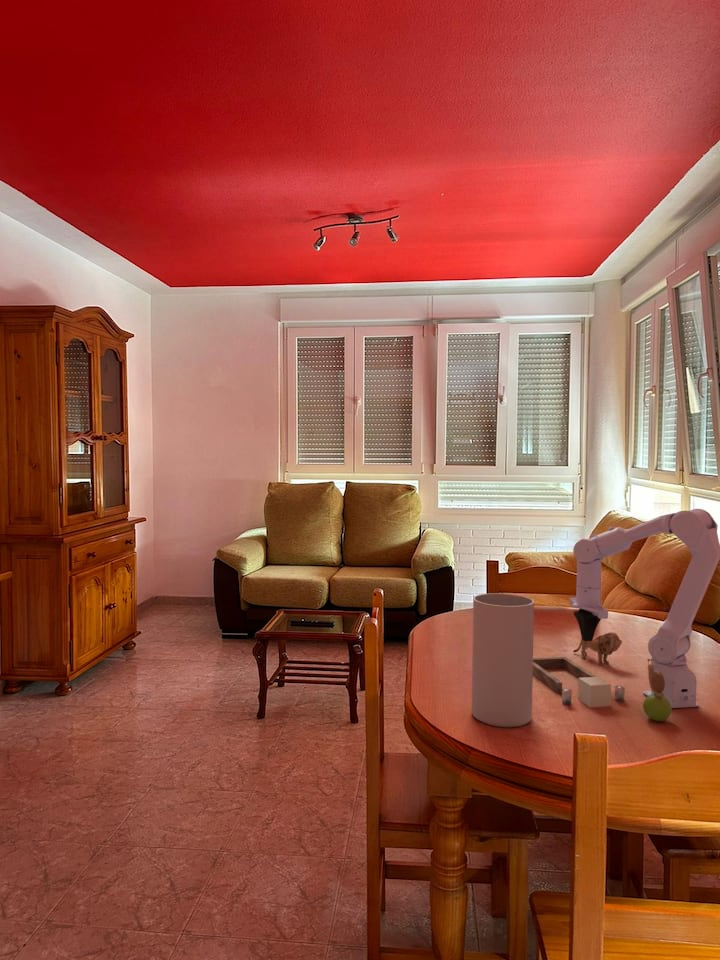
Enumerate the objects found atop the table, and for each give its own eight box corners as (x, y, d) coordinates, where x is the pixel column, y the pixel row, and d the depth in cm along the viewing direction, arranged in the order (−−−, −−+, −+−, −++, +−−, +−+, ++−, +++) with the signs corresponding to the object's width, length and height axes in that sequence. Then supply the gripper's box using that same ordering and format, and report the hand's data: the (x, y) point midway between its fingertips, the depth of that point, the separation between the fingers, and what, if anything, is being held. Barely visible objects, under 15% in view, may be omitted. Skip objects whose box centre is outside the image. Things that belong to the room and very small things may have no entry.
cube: (610, 706, 142) (611, 684, 142) (590, 707, 141) (590, 685, 141) (597, 698, 147) (598, 676, 147) (578, 699, 146) (578, 677, 146)
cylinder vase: (459, 715, 135) (461, 599, 135) (492, 700, 144) (494, 591, 143) (510, 734, 126) (513, 609, 126) (542, 717, 135) (545, 600, 134)
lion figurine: (624, 666, 170) (625, 632, 169) (612, 669, 167) (613, 635, 166) (579, 652, 182) (579, 620, 182) (566, 655, 179) (567, 623, 179)
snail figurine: (660, 713, 138) (662, 658, 138) (676, 725, 132) (677, 667, 131) (636, 713, 138) (637, 658, 138) (650, 725, 131) (651, 667, 131)
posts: (626, 701, 144) (626, 688, 144) (564, 705, 142) (564, 691, 142) (621, 698, 146) (621, 685, 146) (560, 701, 144) (560, 688, 144)
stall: (602, 690, 151) (602, 680, 151) (557, 693, 149) (557, 682, 149) (564, 666, 169) (565, 656, 169) (524, 668, 167) (524, 658, 167)
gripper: (559, 581, 166) (558, 633, 166) (589, 593, 152) (588, 649, 152) (584, 580, 167) (583, 632, 168) (616, 592, 153) (614, 648, 153)
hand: (587, 640), depth 160 cm, fingers closed
